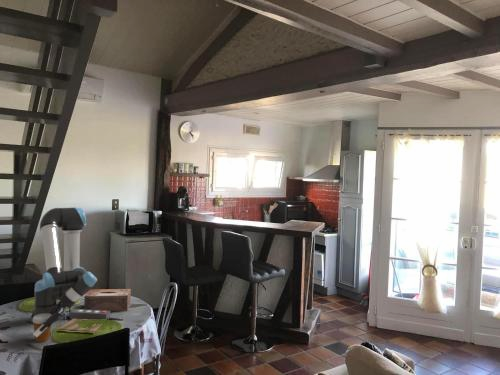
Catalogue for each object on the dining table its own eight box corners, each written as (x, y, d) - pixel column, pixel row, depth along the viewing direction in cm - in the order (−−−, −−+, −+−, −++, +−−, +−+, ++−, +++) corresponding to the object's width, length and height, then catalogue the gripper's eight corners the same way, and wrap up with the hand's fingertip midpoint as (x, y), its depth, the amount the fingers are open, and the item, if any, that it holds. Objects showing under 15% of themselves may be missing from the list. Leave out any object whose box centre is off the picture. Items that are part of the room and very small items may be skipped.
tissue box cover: (84, 312, 247) (84, 296, 247) (89, 304, 261) (89, 289, 261) (127, 311, 251) (127, 295, 251) (130, 303, 266) (130, 289, 265)
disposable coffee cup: (27, 341, 202) (27, 317, 201) (43, 334, 211) (43, 311, 210) (41, 344, 198) (41, 320, 198) (57, 337, 207) (57, 314, 207)
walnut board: (58, 331, 215) (58, 328, 215) (73, 321, 231) (73, 318, 231) (94, 333, 214) (94, 331, 214) (107, 323, 230) (107, 320, 230)
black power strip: (69, 318, 234) (69, 311, 234) (74, 315, 240) (75, 308, 240) (121, 321, 232) (121, 314, 232) (125, 318, 238) (125, 310, 238)
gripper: (76, 308, 201) (40, 344, 194) (75, 296, 220) (42, 328, 214) (65, 299, 198) (28, 335, 192) (64, 287, 218) (31, 320, 212)
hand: (35, 331), depth 203 cm, fingers closed on disposable coffee cup, 9 cm apart
